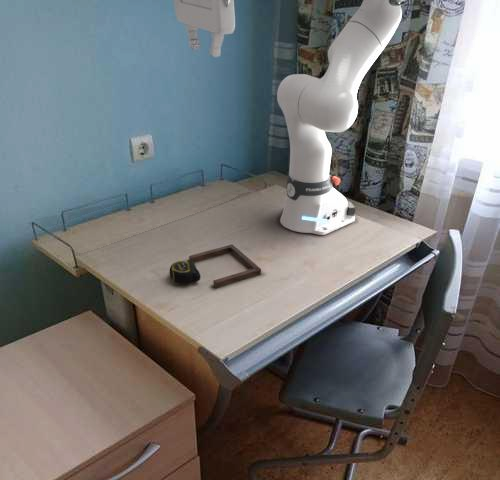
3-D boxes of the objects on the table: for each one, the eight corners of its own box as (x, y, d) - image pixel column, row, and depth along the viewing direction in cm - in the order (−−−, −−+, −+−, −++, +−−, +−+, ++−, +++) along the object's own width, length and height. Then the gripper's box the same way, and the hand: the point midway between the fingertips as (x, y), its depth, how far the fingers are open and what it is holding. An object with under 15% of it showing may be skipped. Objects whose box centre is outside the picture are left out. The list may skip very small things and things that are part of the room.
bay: (232, 249, 137) (232, 244, 136) (261, 274, 127) (261, 268, 126) (189, 261, 131) (188, 255, 130) (215, 288, 121) (215, 282, 120)
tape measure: (201, 285, 122) (201, 271, 120) (173, 289, 121) (172, 275, 118) (195, 270, 128) (194, 257, 125) (167, 274, 126) (166, 261, 124)
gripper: (243, -22, 95) (242, 60, 103) (194, -29, 109) (196, 44, 117) (213, -22, 92) (214, 62, 101) (167, -29, 106) (171, 45, 115)
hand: (204, 52), depth 109 cm, fingers open, 8 cm apart
